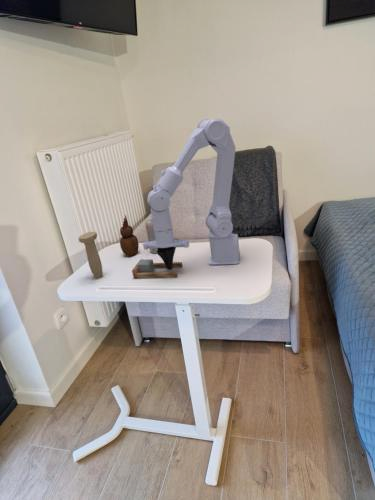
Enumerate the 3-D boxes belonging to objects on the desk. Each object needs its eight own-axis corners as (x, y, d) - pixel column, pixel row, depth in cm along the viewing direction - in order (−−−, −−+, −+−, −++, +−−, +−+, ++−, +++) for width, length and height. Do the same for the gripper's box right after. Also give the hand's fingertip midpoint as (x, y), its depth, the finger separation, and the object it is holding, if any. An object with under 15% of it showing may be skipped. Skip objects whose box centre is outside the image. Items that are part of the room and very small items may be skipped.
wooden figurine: (132, 249, 129) (124, 213, 124) (142, 251, 126) (135, 214, 120) (119, 256, 124) (111, 219, 119) (130, 258, 121) (122, 220, 115)
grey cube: (154, 270, 109) (152, 259, 108) (151, 275, 106) (148, 264, 104) (143, 270, 110) (141, 259, 109) (139, 275, 107) (137, 264, 105)
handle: (87, 280, 108) (75, 239, 103) (97, 272, 114) (86, 231, 108) (99, 281, 107) (88, 238, 101) (109, 272, 112) (99, 231, 107)
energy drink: (165, 247, 127) (160, 218, 122) (163, 253, 122) (157, 222, 117) (152, 248, 127) (146, 219, 123) (149, 254, 123) (143, 224, 118)
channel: (182, 266, 109) (181, 257, 108) (176, 277, 102) (175, 269, 101) (142, 267, 112) (140, 259, 111) (133, 278, 105) (131, 270, 104)
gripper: (188, 222, 102) (194, 262, 107) (145, 225, 106) (152, 263, 111) (183, 230, 96) (189, 271, 101) (137, 233, 99) (146, 273, 105)
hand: (170, 268), depth 106 cm, fingers closed
